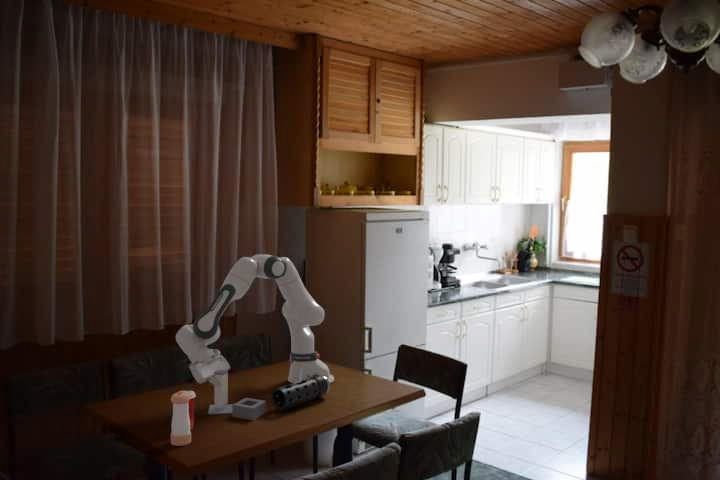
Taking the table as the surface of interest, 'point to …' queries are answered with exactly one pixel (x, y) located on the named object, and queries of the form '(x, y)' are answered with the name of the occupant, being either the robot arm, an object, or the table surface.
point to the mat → (220, 409)
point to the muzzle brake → (300, 392)
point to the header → (249, 409)
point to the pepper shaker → (180, 419)
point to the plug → (221, 387)
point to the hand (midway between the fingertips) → (222, 384)
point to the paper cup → (191, 407)
